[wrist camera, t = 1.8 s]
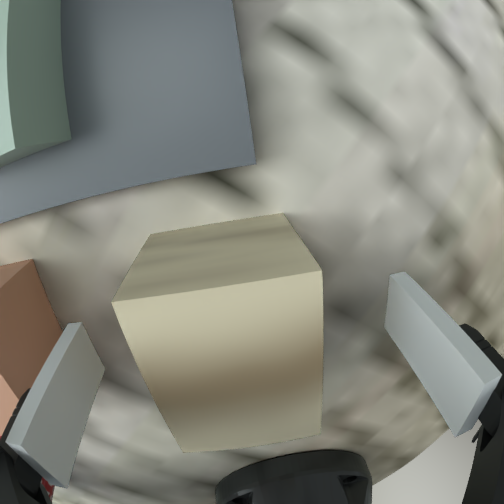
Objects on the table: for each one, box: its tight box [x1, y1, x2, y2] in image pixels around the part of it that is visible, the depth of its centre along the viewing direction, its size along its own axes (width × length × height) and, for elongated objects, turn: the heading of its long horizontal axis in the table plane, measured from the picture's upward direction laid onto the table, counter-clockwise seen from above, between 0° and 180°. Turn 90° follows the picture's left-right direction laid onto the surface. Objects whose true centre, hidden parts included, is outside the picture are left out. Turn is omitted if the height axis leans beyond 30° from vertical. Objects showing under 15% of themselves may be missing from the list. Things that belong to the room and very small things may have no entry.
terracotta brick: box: [0, 259, 63, 436], centre depth 12 cm, size 8×6×6 cm
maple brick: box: [111, 213, 323, 453], centre depth 13 cm, size 8×6×6 cm
